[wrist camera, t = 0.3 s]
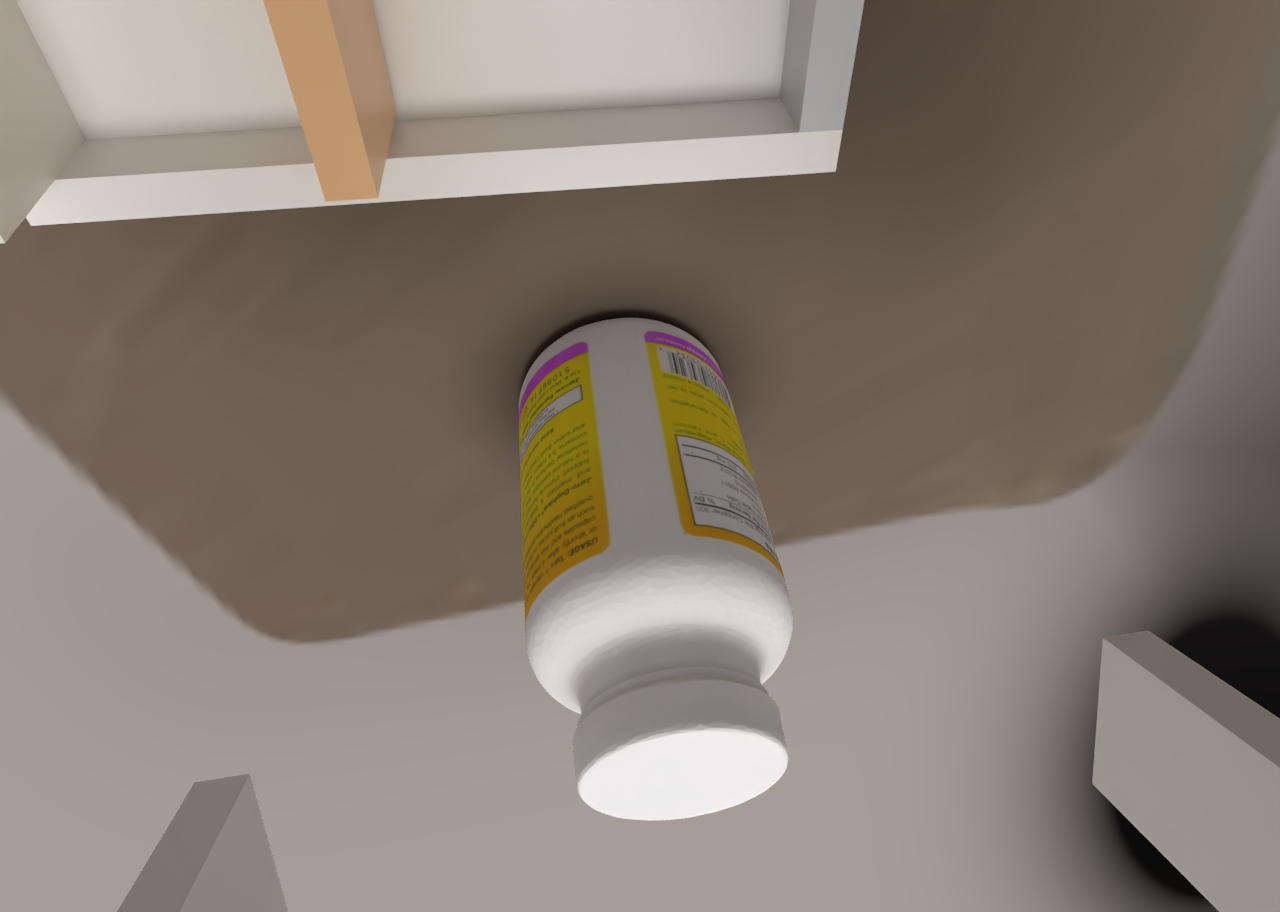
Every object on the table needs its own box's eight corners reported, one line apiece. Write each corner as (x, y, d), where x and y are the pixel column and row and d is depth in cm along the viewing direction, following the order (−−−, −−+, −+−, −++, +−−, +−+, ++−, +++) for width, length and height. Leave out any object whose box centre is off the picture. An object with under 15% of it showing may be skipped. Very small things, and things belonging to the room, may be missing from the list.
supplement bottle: (529, 470, 29) (541, 853, 20) (505, 316, 24) (507, 728, 15) (717, 453, 29) (811, 820, 20) (730, 298, 25) (859, 688, 16)
